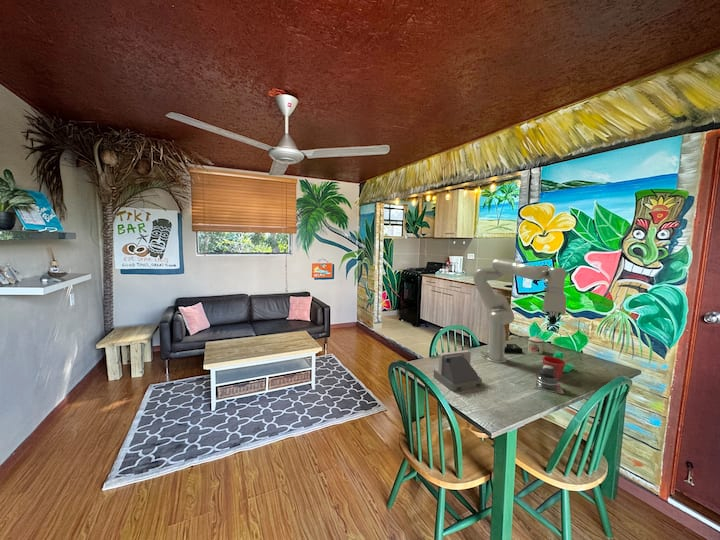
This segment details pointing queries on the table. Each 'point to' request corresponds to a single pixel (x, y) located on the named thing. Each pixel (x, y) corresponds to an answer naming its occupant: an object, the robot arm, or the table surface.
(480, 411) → the table surface
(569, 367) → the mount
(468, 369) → the grey sloped stand
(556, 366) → the flower pot
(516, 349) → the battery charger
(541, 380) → the lens barrel
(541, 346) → the teacup with lid
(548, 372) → the dark grey cube
